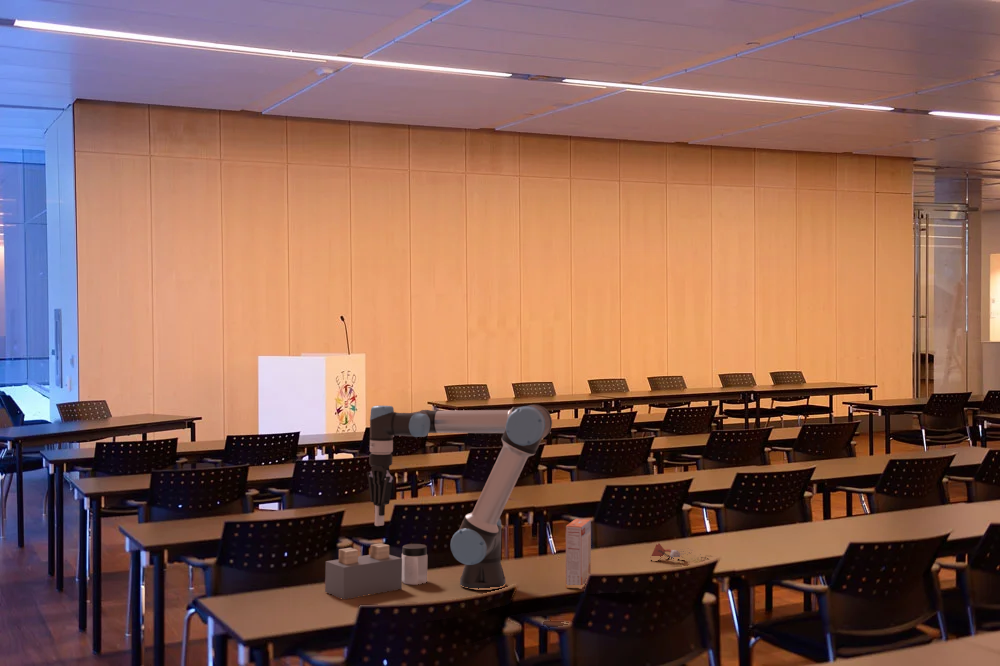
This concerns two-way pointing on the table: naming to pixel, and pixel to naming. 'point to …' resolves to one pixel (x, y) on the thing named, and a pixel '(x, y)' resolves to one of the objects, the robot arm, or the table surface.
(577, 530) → the cracker box
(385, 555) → the peg
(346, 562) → the tan wooden block
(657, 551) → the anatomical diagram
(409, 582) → the jar
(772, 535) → the table surface
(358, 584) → the peg block
